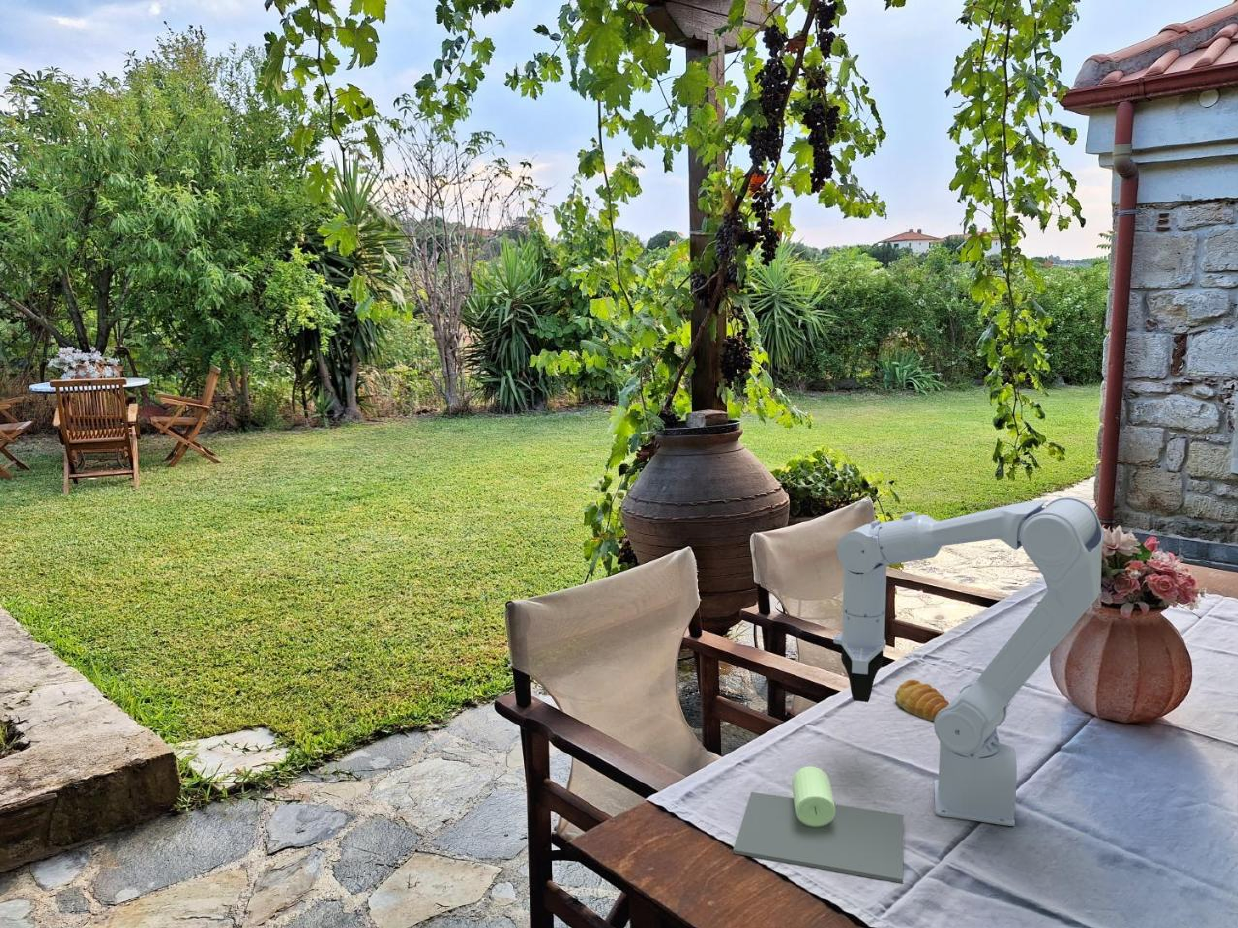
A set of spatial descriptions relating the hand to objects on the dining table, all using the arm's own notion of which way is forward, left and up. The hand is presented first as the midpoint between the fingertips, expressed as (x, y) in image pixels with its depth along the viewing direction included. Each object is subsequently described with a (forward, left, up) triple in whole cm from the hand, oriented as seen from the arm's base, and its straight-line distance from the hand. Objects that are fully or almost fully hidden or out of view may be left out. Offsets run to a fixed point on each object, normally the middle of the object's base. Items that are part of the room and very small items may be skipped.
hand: (861, 699), depth 123 cm
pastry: (-9, -20, -11) cm, 25 cm away
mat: (+4, +18, -10) cm, 21 cm away
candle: (+6, +10, -8) cm, 14 cm away
